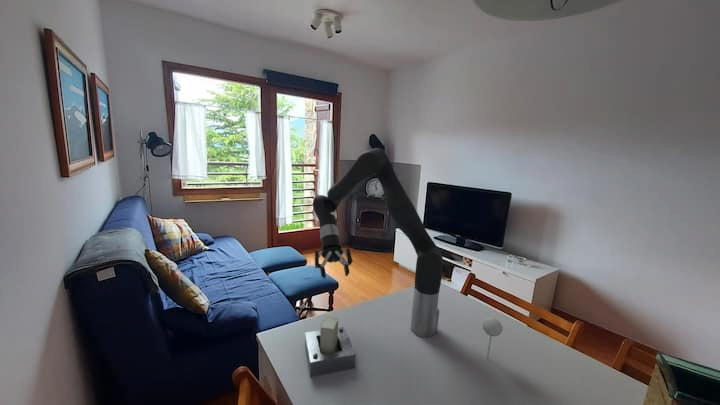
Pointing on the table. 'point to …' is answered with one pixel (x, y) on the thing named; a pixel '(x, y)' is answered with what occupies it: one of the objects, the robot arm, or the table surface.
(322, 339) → the skincare box
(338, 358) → the housing
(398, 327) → the table surface
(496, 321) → the lollipop
